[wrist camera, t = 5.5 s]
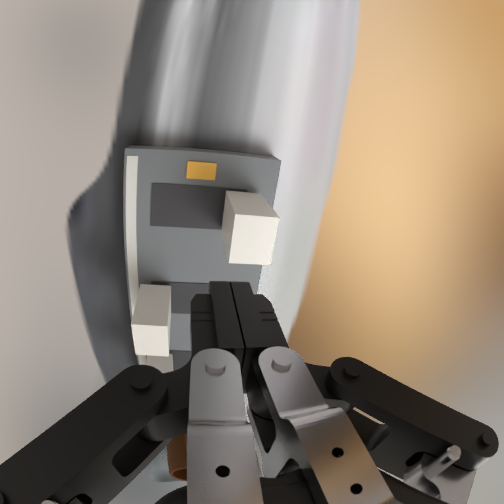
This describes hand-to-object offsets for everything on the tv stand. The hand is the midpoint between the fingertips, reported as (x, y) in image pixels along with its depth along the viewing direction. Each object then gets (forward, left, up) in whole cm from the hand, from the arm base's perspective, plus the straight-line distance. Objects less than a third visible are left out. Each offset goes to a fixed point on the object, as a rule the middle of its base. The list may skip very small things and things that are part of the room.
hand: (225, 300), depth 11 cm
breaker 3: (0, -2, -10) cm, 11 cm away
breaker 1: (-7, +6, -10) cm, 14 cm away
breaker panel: (-7, +3, -13) cm, 15 cm away
